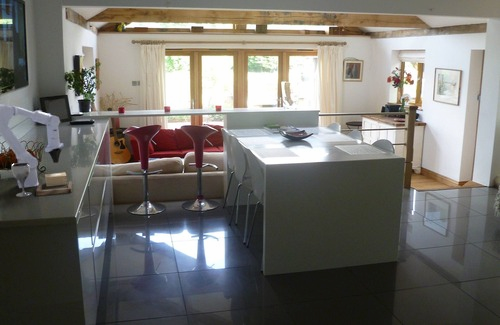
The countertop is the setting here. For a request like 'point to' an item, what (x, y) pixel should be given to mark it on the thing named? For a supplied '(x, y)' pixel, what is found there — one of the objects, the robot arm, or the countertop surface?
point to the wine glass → (21, 175)
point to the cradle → (53, 190)
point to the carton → (56, 179)
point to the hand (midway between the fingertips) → (55, 162)
